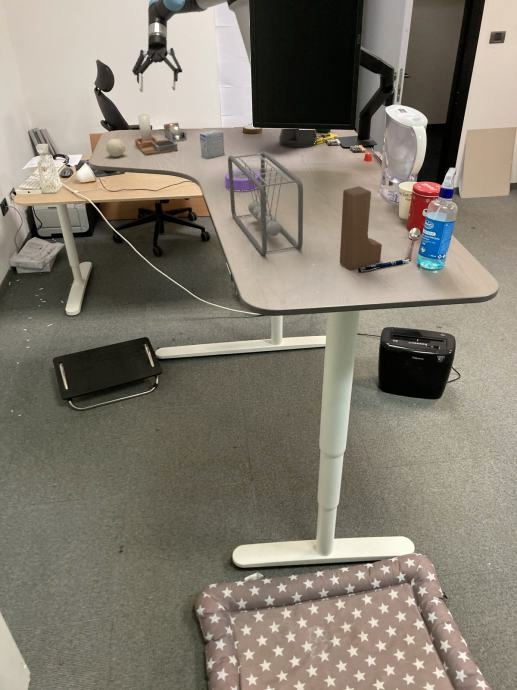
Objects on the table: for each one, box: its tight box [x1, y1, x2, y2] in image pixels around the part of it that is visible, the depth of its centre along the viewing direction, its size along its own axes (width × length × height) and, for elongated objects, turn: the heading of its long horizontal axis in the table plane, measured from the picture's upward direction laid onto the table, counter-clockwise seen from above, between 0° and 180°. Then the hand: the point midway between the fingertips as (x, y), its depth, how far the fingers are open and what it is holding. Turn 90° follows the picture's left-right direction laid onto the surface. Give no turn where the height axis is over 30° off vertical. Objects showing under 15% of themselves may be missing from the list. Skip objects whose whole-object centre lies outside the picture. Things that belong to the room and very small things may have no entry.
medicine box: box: [199, 129, 225, 160], centre depth 206 cm, size 8×4×9 cm, turn 128°
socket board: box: [134, 136, 178, 156], centre depth 220 cm, size 17×13×3 cm
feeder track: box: [163, 122, 188, 143], centre depth 231 cm, size 11×6×5 cm, turn 24°
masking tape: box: [224, 169, 261, 192], centre depth 178 cm, size 12×12×4 cm
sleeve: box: [137, 114, 153, 143], centre depth 220 cm, size 5×5×11 cm
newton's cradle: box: [227, 150, 304, 256], centre depth 141 cm, size 30×10×18 cm, turn 18°
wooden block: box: [339, 186, 383, 271], centre depth 124 cm, size 9×4×18 cm, turn 119°
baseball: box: [105, 138, 126, 158], centre depth 211 cm, size 7×7×7 cm
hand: (157, 89), depth 221 cm, fingers open, 13 cm apart
